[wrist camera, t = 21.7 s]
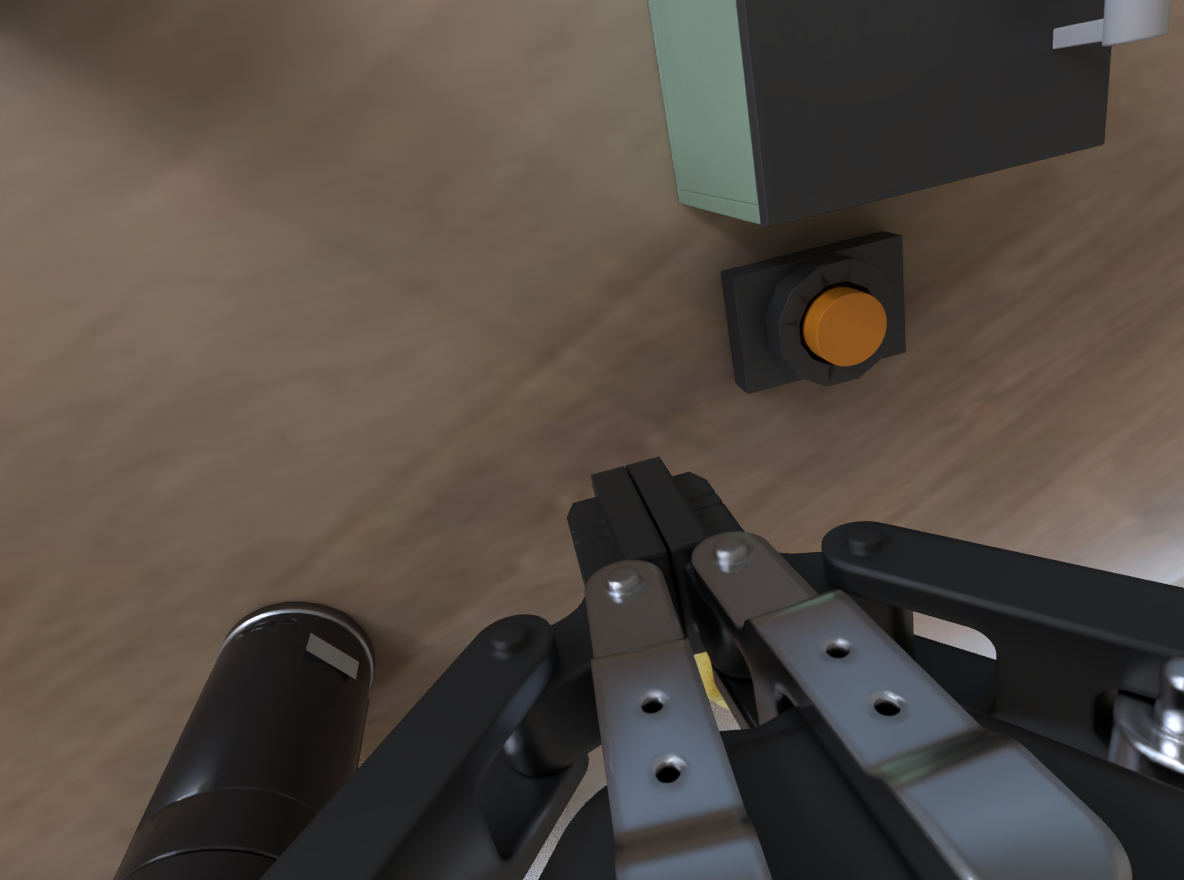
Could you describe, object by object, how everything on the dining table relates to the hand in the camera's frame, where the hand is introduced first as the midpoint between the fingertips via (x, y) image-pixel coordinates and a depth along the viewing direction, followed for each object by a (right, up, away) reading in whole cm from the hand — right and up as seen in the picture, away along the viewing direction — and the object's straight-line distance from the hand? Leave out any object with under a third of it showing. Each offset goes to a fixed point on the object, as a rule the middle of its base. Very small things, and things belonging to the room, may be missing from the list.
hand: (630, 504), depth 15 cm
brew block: (+12, +9, +28) cm, 32 cm away
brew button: (+13, +8, +25) cm, 29 cm away
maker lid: (+12, +17, +12) cm, 24 cm away
